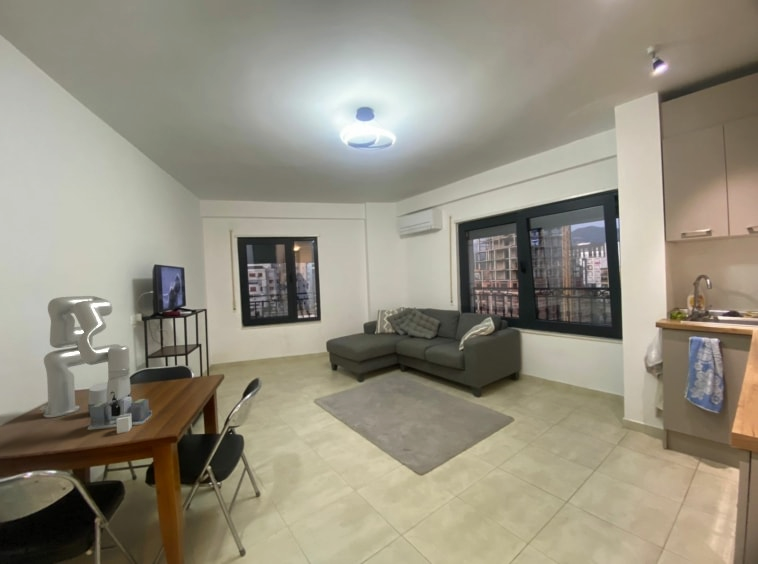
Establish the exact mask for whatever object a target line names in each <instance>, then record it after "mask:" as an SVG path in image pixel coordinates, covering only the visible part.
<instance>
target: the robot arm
mask: <svg viewBox="0 0 758 564" xmlns="http://www.w3.org/2000/svg"><path fill="white" fill-rule="evenodd" d="M112 312H113V305H112V304H111V302H110V301H109V300H107V299H105V298H102V297H98V296H94V295H82V296H81V295H79V296H75V295H74V296H61V297H60V296H59V297H55V298H52V299H51V300H50V301H49V302H48V305H47V313H48V316H49V319H50V329H49V345H50V346H51V347H52V348H55V349H57V350H53V351H50V352H48V353H46V355H45V356H44V358H43V364H44V368H45V371H46V378H47V379H46V380H47V382H46V383H47V405H41V407H40V408H39V412H44V414H43V417H44V418H47V419H49V418H56V417H57V418H58V417H61V416H66V415H69V414H72V413H75V412H77V411H79V410H80V405H76V395H75V394H76V393H75V391H76V390H75V389H76V388H75V387H76V386H75V374H74V373H73V372H72V371H71V370H70V369H69V368H71V367H77V366H82V365H85V364H87V365H90V366H94V365H98V364H103V363H107V373H108V374H107V375H108V377H107V378H108V379H107V382H108V383H107V394H106V400H107V401H108V404H109V405H110V408H111V416H119V415H120V406H119V403H120V400H121V399H122V398H124V397H130V394H131V392H132V390H131V387H132V386H131V379H130V378H131V377H130V375H131V372H130V348H129V347H128V346H127V345H120V344H117V343H115V344H109V345H108V344H107V345H103V346H96V347H93V341H94V340H93V338H94V337H93V336H96V335H98V334H100V333H101V332H103V331H104V330H106V328H107V323H106V322H105V319H104V317H106V316H110V315H111V314H112ZM73 314H74V315H73ZM74 316H75V317H74ZM75 318H76V319H75ZM76 320H77V322H78V324H79V326H76V325H75V324H76ZM68 347H70V348H68ZM61 348H62V349H61ZM114 399H116V400H114ZM115 401H117V404H116V403H114V402H115Z"/></svg>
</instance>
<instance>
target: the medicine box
mask: <svg viewBox="0 0 758 564" xmlns="http://www.w3.org/2000/svg"><path fill="white" fill-rule="evenodd" d="M114 400H116V399H114ZM114 403H116V404H117V401H115V402H114ZM131 403H133V397H132V396H129V397H124V398H122V399H121V400H120V403H119V406H120V415H125V414H131ZM120 415H119V416H120ZM117 418H118V416H111V408H110V405H109V404H108V419H117Z"/></svg>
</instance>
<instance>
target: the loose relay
mask: <svg viewBox="0 0 758 564" xmlns="http://www.w3.org/2000/svg"><path fill="white" fill-rule="evenodd" d="M132 427H133V425H132V419H131V414H125V415H120V416H118V418H117V427H116V434H122V433H128V432H130V430H131V429H132Z"/></svg>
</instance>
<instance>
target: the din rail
mask: <svg viewBox="0 0 758 564" xmlns="http://www.w3.org/2000/svg"><path fill="white" fill-rule="evenodd" d="M149 402H150V401H149V398H138V399H135V400H134V401H132V403H131V419H132V426H137V425H138V426H139V425H143V424H144V423H145V422H147V421H148V420H149V419H150V418H152V417H153V410H150V405H149V404H150V403H149ZM89 414H90V415H89V417H90V425H89V426H88V427H87V431H91V430H99V429H101V430H102V429H109V428H117V419H108V403H106V402H104V403H99V404H95V405H93V406H92V407H90V413H89ZM151 416H152V417H151ZM146 420H147V421H146Z"/></svg>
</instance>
